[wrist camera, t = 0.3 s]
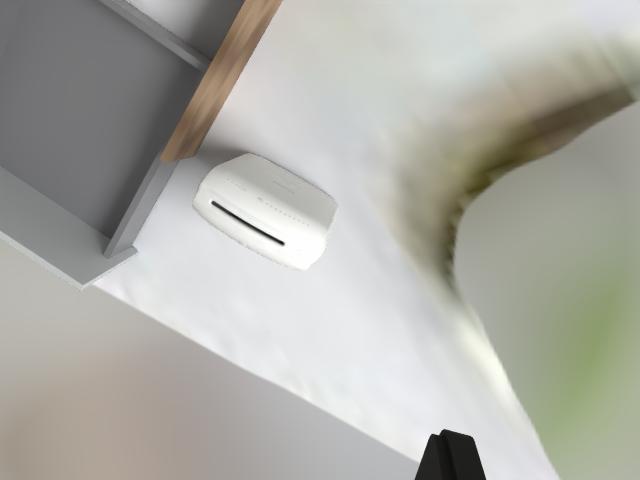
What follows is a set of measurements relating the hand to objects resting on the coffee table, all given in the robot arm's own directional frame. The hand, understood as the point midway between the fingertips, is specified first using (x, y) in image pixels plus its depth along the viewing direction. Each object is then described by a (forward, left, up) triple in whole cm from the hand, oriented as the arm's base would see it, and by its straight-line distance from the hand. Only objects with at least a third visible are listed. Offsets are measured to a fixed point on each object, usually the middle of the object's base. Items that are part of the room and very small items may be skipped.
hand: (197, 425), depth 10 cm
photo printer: (+4, -3, -34) cm, 35 cm away
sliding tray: (+7, -22, -34) cm, 41 cm away
